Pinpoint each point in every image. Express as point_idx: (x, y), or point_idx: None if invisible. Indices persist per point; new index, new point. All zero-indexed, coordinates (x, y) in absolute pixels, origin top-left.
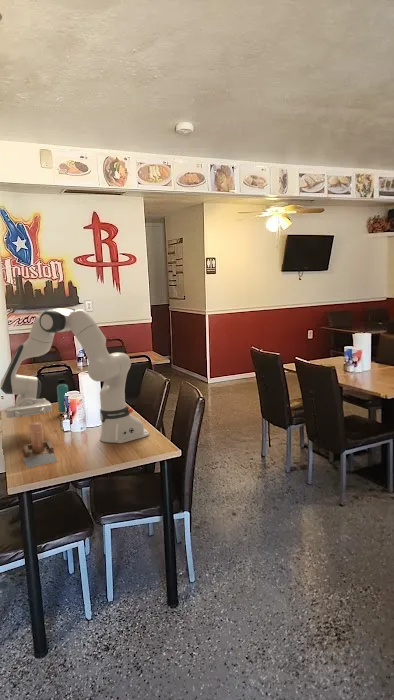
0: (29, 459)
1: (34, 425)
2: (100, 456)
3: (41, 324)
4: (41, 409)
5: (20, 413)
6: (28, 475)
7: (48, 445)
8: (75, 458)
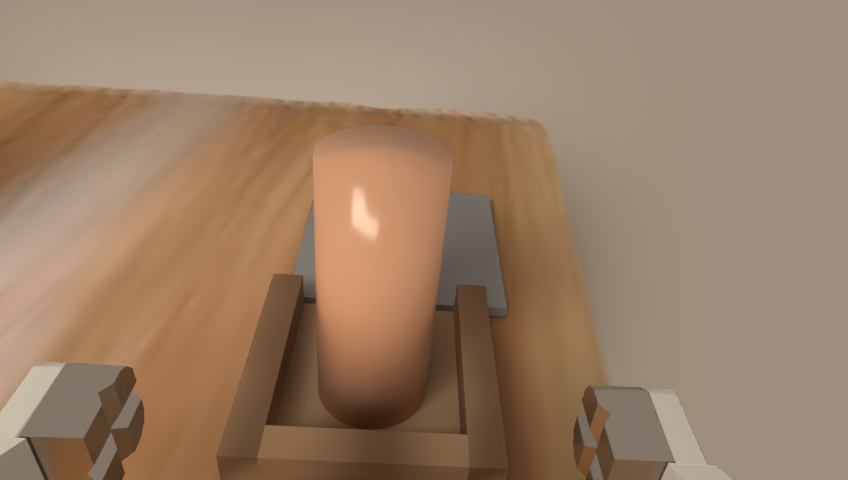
0: (464, 272)
1: (407, 128)
2: (91, 158)
3: None
4: (27, 436)
5: (617, 388)
6: (481, 158)
7: (287, 327)
8: (210, 192)
